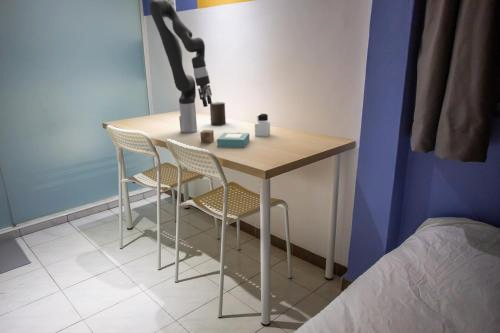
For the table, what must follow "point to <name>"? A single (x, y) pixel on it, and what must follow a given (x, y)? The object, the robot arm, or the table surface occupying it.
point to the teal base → (233, 140)
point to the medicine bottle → (262, 125)
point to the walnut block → (207, 136)
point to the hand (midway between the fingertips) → (207, 105)
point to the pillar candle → (217, 113)
